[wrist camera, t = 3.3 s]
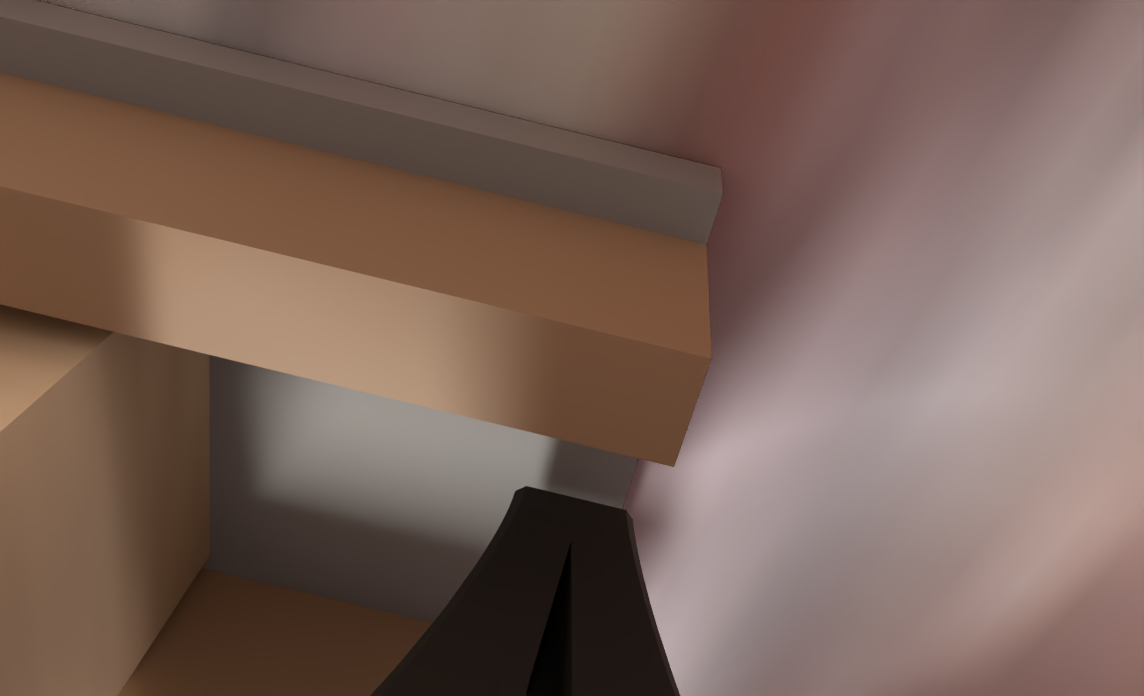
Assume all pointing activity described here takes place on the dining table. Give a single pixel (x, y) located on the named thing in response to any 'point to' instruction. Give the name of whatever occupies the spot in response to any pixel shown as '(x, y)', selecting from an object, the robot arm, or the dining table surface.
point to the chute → (349, 321)
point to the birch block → (95, 499)
